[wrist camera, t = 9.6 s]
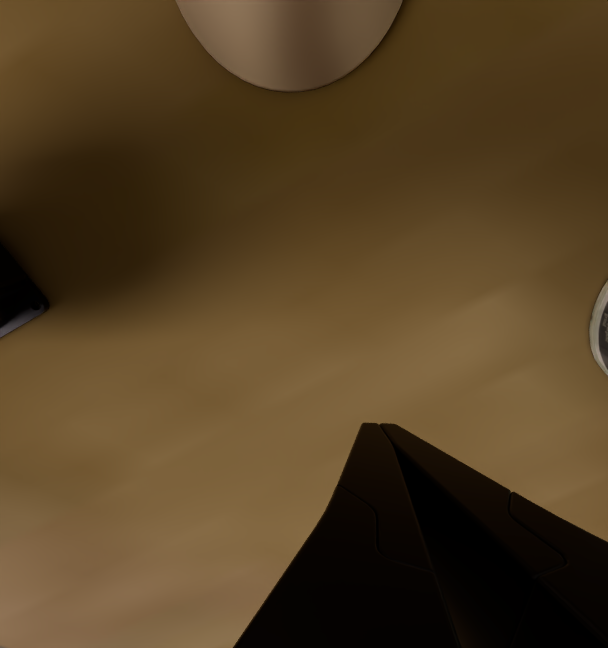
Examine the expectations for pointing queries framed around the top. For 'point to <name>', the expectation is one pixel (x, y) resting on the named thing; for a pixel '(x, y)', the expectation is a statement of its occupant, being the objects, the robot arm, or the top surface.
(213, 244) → the top surface
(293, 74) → the cork mat
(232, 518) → the top surface
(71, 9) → the top surface
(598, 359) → the coffee can
